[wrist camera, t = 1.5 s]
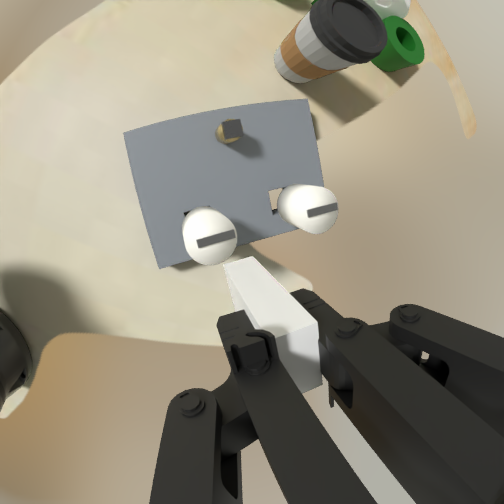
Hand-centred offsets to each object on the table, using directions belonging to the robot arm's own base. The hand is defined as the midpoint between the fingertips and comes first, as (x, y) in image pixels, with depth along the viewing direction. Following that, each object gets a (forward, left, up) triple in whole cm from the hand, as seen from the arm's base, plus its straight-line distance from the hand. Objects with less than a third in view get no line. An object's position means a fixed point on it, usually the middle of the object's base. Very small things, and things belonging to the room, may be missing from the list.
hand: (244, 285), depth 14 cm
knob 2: (+10, 0, -15) cm, 18 cm away
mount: (+5, +4, -22) cm, 23 cm away
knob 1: (0, 0, -15) cm, 15 cm away
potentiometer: (+5, +9, -19) cm, 21 cm away
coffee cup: (+17, +18, -22) cm, 33 cm away
